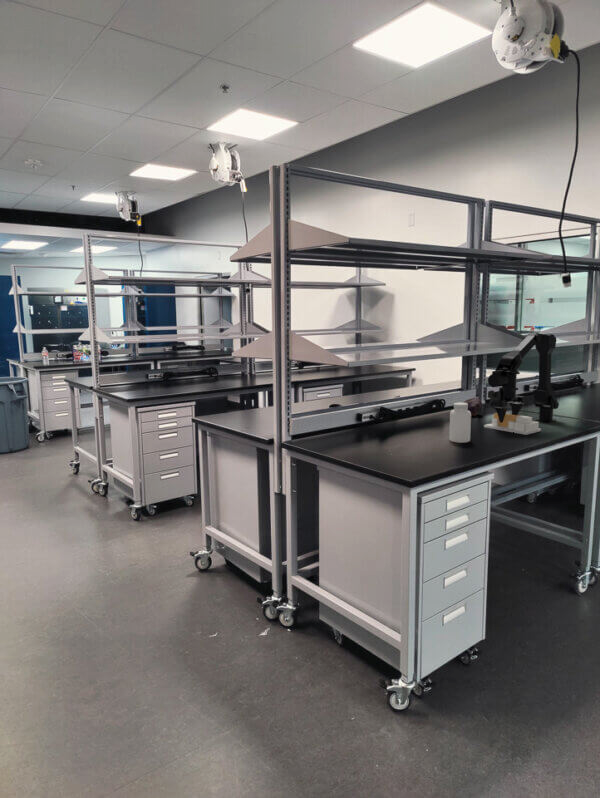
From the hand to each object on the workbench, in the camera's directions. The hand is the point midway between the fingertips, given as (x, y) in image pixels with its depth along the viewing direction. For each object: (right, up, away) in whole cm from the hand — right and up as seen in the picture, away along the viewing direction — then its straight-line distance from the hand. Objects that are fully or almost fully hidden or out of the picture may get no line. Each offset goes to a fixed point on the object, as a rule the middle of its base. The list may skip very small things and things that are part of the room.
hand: (507, 421), depth 233 cm
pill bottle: (-27, -7, -20) cm, 34 cm away
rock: (-6, +1, +30) cm, 31 cm away
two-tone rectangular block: (+1, -2, -1) cm, 3 cm away
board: (+1, -3, -1) cm, 4 cm away
